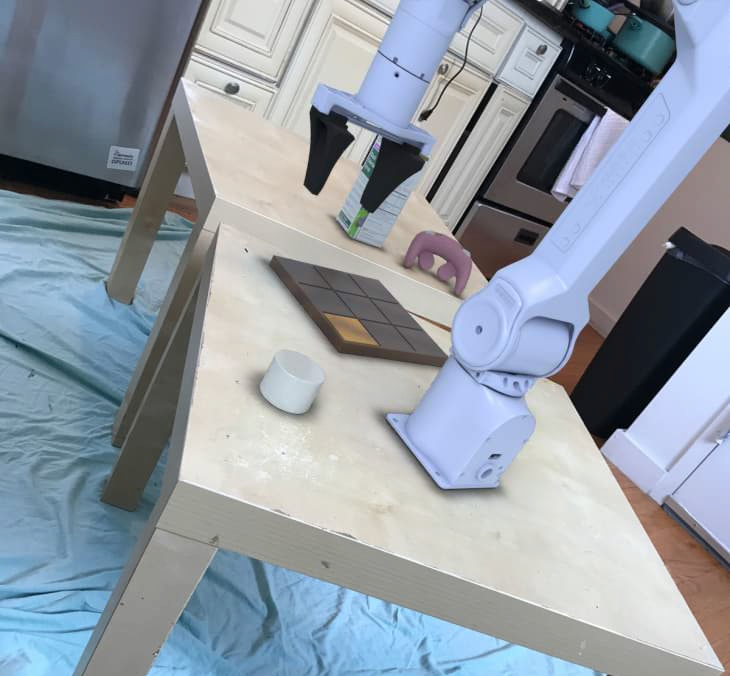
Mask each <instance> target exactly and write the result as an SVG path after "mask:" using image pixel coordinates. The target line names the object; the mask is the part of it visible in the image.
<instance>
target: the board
mask: <svg viewBox="0 0 730 676" xmlns="http://www.w3.org/2000/svg"><path fill="white" fill-rule="evenodd" d="M269 266H270V268H272V270H273V271H274V272H275V274H276V275H277V276H278V277H279V278H280V280H281V281H282V282H283V284H284V285H285V286H286V287H287V289H288V290H289V291H290V293H291V294H292V295H293V296H294V297H295V299H296V301H298V303H299V304H300V305H301V307H302V308H303V309H304V311H305V312H306V313H307V314H308V315H309V317H310V318H311V319H312V320H313V322H314V323H315V324H316V325H317V327H318V328H319V329H320V331H321V332H322V333H323V334H324V336H325V337H326V338H327V339H328V341H329V342H330V343H331V345H332V346H333V347H334V349H335V350H336V351H337V352H338V353H342V354H349V355H356V356H364V357H370V358H378V359H384V360H385V359H386V360H392V361H399V362H400V361H401V362H405V363H406V362H407V363H414V364H422V365H428V366H435V367H441V368H442V367H443V365H444V364H445V362H446V361H447V359H448V357H449V355H447V353H446V352H445V351H444V350H443V349H442V348H441V346H440V345H439V344H438V343H437V342H436V341H435V340H434V339H433V338H432V337H431V336H430V335H429V333H428V332H427V331H426V330H425V329H424V328H423V327H422V326H421V325H420V324H419V322H418V321H417V320H416V319H415V318H414V317H413V316H412V315H411V314H410V312H409V311H408V310H407V309H406V308H405V307H404V305H403V304H401V303H400V301H398V300H397V298H396V297H395V296H394V295H393V294H392V293H391V292H390V290H388V289H387V287H386V286H385V285H384V284H383V283H382V281H380V280H379V279H376V278H372V277H368V276H363V275H360V274H355V273H351V272H347V271H342V270H338V269H334V268H330V267H325V266H322V265H317V264H314V263H309V262H305V261H301V260H296V259H291V258H288V257H284V256H280V255H275V254H273V255H272V257H271V259H270V261H269Z"/></svg>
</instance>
